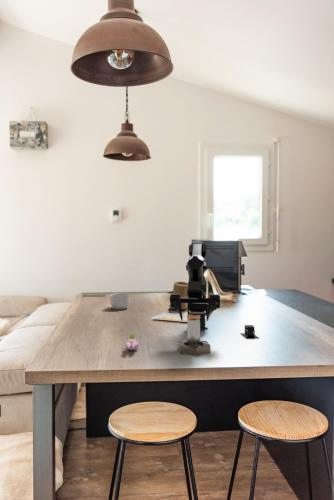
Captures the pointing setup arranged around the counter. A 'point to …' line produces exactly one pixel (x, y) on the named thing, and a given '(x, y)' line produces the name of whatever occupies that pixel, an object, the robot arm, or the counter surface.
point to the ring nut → (193, 348)
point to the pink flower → (131, 343)
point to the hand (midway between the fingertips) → (194, 320)
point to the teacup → (120, 300)
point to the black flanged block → (249, 332)
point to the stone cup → (180, 291)
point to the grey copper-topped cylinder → (193, 329)
